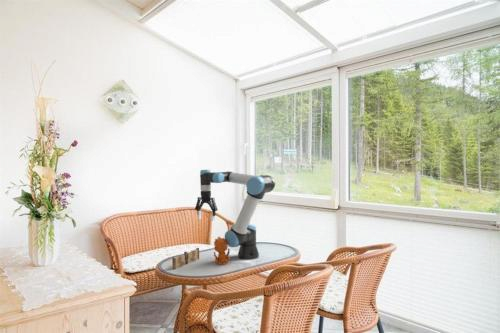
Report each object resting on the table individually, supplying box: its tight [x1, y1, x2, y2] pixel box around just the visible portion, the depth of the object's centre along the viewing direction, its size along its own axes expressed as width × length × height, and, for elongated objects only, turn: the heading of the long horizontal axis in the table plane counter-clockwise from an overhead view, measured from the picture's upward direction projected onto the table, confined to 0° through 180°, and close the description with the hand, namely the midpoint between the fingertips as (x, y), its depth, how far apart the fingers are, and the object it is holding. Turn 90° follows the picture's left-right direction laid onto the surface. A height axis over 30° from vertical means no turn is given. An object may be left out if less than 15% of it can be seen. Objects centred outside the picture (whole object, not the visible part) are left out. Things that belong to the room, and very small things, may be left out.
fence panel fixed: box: [171, 251, 188, 270], centre depth 227 cm, size 13×2×8 cm, turn 151°
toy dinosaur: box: [213, 236, 231, 265], centre depth 233 cm, size 11×11×18 cm
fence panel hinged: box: [187, 247, 200, 264], centre depth 238 cm, size 12×2×8 cm, turn 151°
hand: (206, 219), depth 255 cm, fingers open, 11 cm apart
